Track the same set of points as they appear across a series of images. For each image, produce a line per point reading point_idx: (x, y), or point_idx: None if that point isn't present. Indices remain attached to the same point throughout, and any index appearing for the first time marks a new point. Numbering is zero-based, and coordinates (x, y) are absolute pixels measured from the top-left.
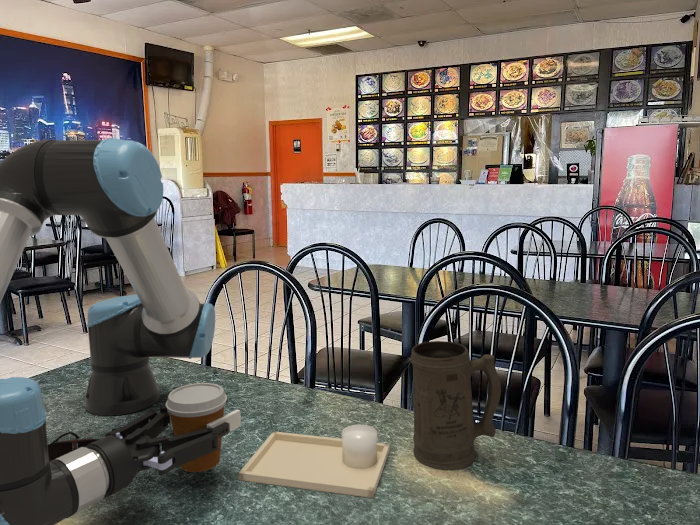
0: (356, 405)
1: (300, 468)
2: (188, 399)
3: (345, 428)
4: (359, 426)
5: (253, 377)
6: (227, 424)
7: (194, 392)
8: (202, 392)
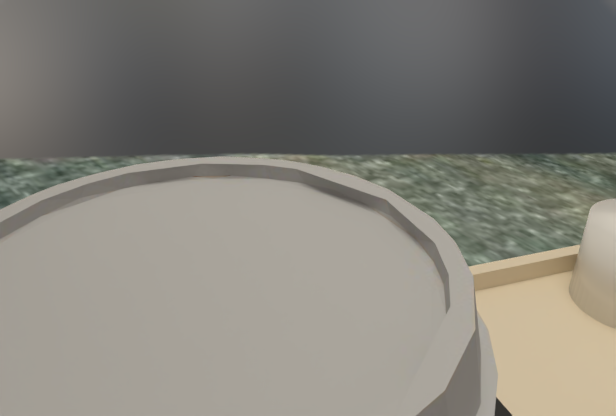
0: (360, 168)
1: (560, 407)
2: (200, 361)
3: (598, 224)
4: (612, 207)
5: (22, 160)
6: (500, 412)
7: (143, 258)
8: (217, 238)
